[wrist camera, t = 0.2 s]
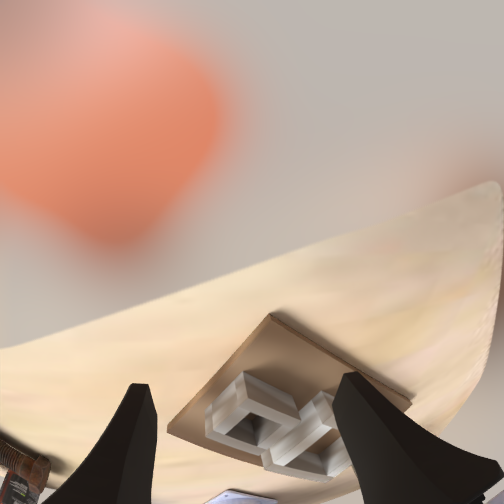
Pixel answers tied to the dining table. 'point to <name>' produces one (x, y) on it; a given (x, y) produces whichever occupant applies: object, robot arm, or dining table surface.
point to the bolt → (26, 467)
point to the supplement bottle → (16, 490)
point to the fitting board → (275, 406)
